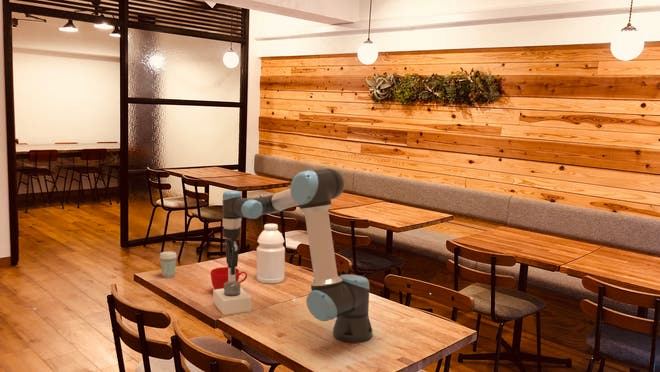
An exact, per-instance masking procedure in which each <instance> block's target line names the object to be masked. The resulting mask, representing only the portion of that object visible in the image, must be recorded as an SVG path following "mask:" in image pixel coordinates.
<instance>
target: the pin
mask: <svg viewBox="0 0 660 372" xmlns="http://www.w3.org/2000/svg"><path fill="white" fill-rule="evenodd" d="M240 287H241V283H240V282H239V281H238V282H237V281H235V282H229V281H228V282H225V283H224V295H225V296H238V295H240Z"/></svg>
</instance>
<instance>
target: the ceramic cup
mask: <svg viewBox="0 0 660 372" xmlns="http://www.w3.org/2000/svg"><path fill="white" fill-rule="evenodd" d="M242 274H245V275H244V278H243V279H242V280H239V279H240V276H241V275H242ZM247 277H248V274H247V272H246V271H240V270H239V269H238V268H237V267H235V281H237V282H240V284H241V283H243V282H244V281H246V279H247ZM210 281H211V285H212V287H213V288H214V290H216V289H224V283H225V282H228V266H224V267H223V266H222V267H216V268H213V269H211V270H210Z"/></svg>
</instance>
